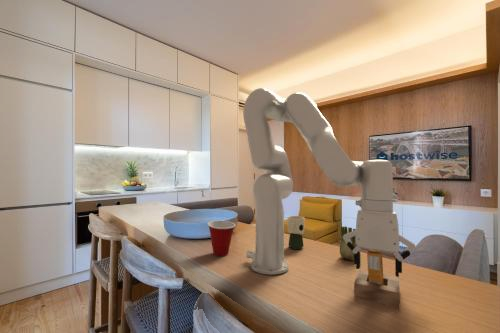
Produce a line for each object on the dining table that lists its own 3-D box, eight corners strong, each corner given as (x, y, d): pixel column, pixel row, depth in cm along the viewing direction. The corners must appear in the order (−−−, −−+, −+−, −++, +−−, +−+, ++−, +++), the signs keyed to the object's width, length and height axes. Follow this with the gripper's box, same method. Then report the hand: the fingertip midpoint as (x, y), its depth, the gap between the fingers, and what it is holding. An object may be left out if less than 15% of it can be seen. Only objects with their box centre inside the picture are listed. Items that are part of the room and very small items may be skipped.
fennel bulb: (358, 261, 87) (358, 228, 87) (347, 262, 85) (347, 228, 86) (347, 255, 92) (347, 224, 93) (337, 257, 91) (337, 225, 91)
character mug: (299, 253, 95) (300, 220, 95) (283, 250, 99) (283, 218, 99) (307, 246, 104) (308, 216, 105) (292, 243, 108) (292, 214, 108)
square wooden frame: (354, 298, 62) (354, 282, 62) (359, 283, 70) (359, 269, 70) (399, 310, 57) (399, 293, 57) (399, 292, 65) (399, 277, 65)
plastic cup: (221, 261, 86) (222, 227, 86) (201, 254, 92) (201, 223, 93) (240, 253, 94) (241, 222, 95) (221, 247, 101) (221, 219, 101)
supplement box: (369, 285, 66) (369, 248, 66) (383, 288, 64) (383, 251, 64) (367, 289, 63) (367, 251, 64) (382, 293, 61) (381, 254, 62)
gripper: (339, 205, 65) (340, 268, 65) (417, 210, 56) (417, 284, 56) (344, 202, 72) (345, 260, 71) (414, 207, 63) (415, 273, 62)
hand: (377, 270), depth 64 cm, fingers open, 8 cm apart
